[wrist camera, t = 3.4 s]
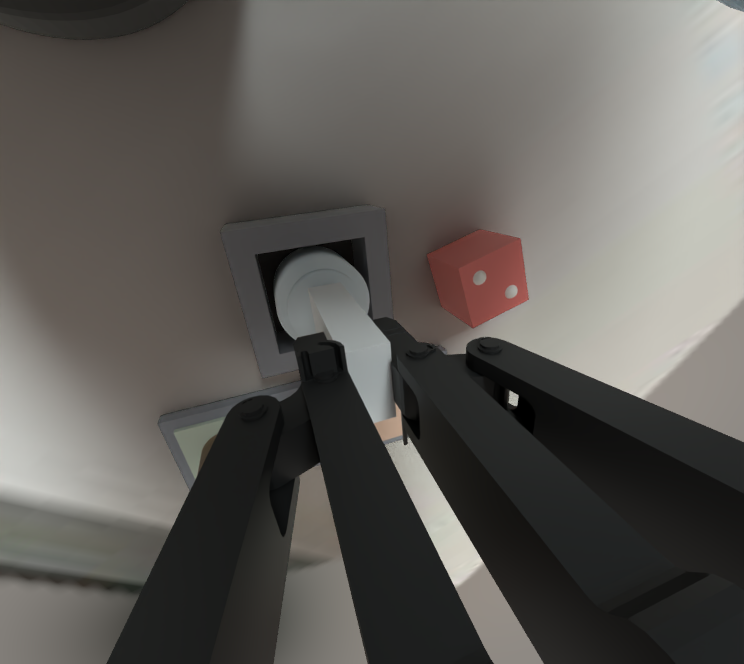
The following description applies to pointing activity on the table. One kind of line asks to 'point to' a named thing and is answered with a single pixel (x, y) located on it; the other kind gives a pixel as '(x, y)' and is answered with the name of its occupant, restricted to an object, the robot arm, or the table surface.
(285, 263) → the dome
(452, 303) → the die
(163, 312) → the table surface
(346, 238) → the dome housing
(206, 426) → the board
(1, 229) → the table surface
